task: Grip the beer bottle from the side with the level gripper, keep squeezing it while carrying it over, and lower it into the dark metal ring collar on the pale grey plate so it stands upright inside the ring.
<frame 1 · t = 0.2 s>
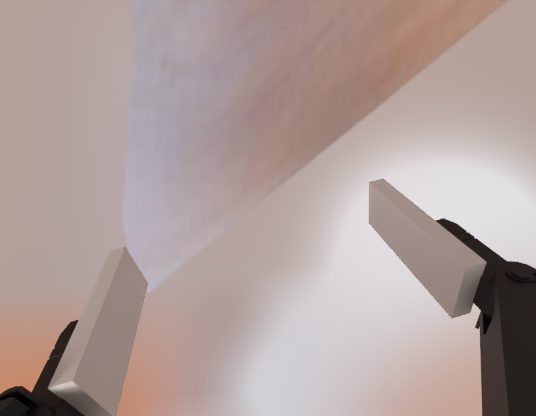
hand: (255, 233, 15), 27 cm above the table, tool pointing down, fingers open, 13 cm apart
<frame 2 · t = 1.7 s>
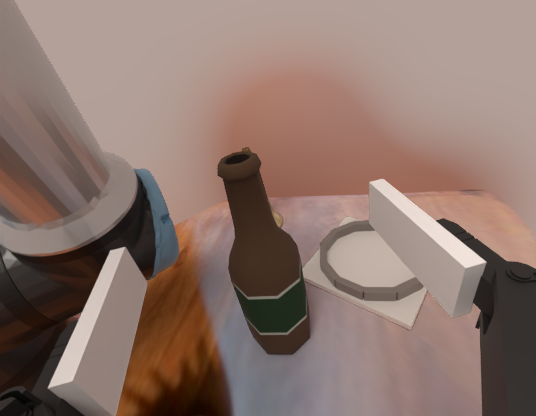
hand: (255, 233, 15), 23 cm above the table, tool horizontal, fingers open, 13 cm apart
beer bottle: (282, 329, 36), on the table
ring plate: (371, 262, 42), on the table
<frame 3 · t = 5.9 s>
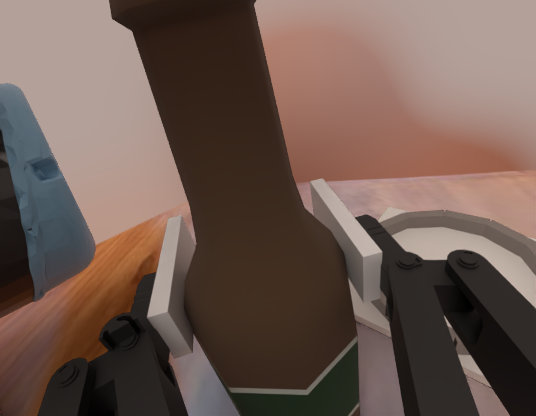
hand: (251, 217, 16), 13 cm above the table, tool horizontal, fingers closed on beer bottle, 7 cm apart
beer bottle: (302, 408, 19), on the table, touching gripper
ring plate: (444, 279, 26), on the table
when the fingers open (15 cm above the table, at t = 10.2 s): beer bottle stays where it is, resting on ring plate.
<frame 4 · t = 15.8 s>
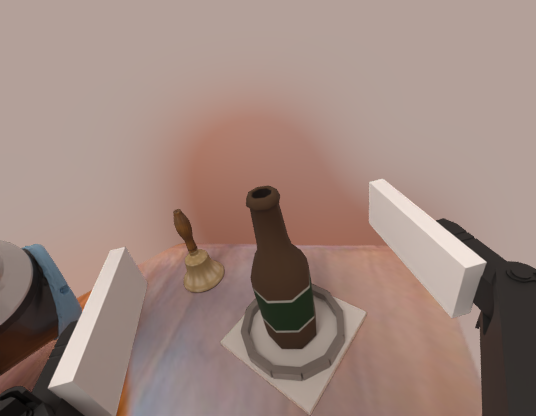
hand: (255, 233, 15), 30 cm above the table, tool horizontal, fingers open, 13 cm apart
beer bottle: (293, 328, 42), point 1 cm above the table, touching ring plate
hand bell: (204, 277, 56), on the table
ring plate: (293, 330, 43), on the table
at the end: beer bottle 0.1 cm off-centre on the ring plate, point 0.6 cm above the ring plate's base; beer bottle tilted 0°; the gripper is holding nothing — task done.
